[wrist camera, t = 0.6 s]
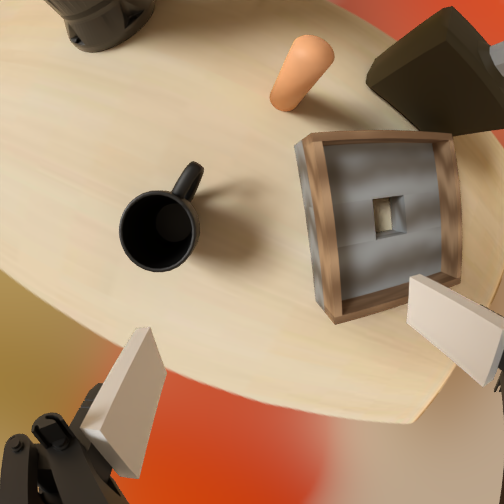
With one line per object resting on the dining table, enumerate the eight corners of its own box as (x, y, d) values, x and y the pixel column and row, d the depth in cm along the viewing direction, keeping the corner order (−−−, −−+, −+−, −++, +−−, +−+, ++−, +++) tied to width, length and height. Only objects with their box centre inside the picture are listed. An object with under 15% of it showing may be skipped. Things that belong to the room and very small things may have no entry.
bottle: (432, 146, 35) (554, 133, 11) (359, 84, 33) (472, 9, 8) (443, 114, 34) (551, 90, 10) (376, 54, 32) (472, -17, 7)
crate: (294, 145, 34) (311, 133, 26) (419, 140, 35) (451, 133, 27) (315, 300, 39) (335, 324, 31) (430, 269, 40) (460, 283, 32)
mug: (233, 188, 35) (234, 186, 25) (184, 264, 36) (170, 287, 27) (181, 155, 33) (164, 142, 24) (134, 232, 35) (106, 244, 25)
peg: (267, 87, 32) (287, 34, 18) (295, 85, 32) (328, 35, 19) (272, 112, 33) (297, 69, 19) (301, 110, 33) (338, 69, 19)
